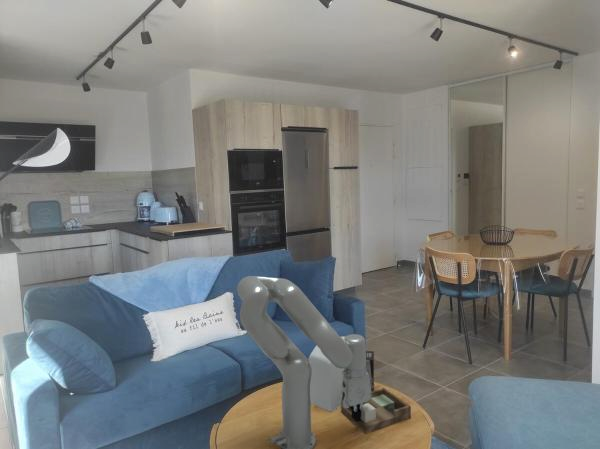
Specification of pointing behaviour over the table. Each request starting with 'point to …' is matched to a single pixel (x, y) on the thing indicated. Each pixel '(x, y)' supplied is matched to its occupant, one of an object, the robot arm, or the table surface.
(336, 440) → the table surface
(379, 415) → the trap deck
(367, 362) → the coffee box
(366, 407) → the block
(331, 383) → the milk
